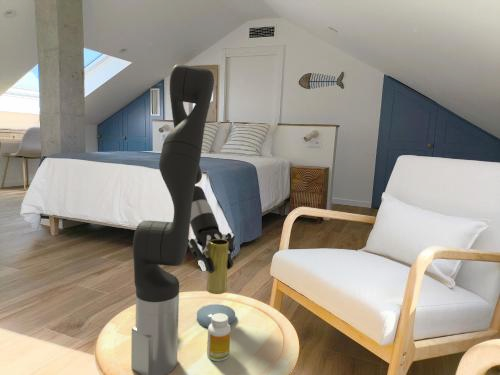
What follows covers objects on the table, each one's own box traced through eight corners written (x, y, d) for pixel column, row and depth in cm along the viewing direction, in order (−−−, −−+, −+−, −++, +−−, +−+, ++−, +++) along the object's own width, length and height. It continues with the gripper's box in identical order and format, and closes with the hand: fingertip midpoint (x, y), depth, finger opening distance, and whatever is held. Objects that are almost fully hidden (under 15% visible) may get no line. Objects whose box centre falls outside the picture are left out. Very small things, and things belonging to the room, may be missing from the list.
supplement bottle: (233, 357, 84) (235, 319, 82) (213, 364, 81) (214, 325, 79) (222, 345, 88) (224, 309, 87) (203, 351, 85) (204, 314, 84)
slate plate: (216, 333, 93) (217, 328, 93) (188, 318, 100) (188, 313, 100) (242, 317, 102) (242, 313, 102) (215, 305, 109) (215, 300, 108)
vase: (229, 286, 103) (231, 239, 101) (225, 295, 97) (228, 246, 94) (208, 284, 103) (210, 237, 101) (203, 293, 97) (205, 244, 95)
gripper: (184, 214, 98) (204, 269, 91) (227, 209, 107) (248, 259, 99) (175, 227, 103) (193, 280, 96) (217, 222, 112) (236, 270, 104)
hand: (221, 269), depth 98 cm, fingers closed on vase, 5 cm apart
